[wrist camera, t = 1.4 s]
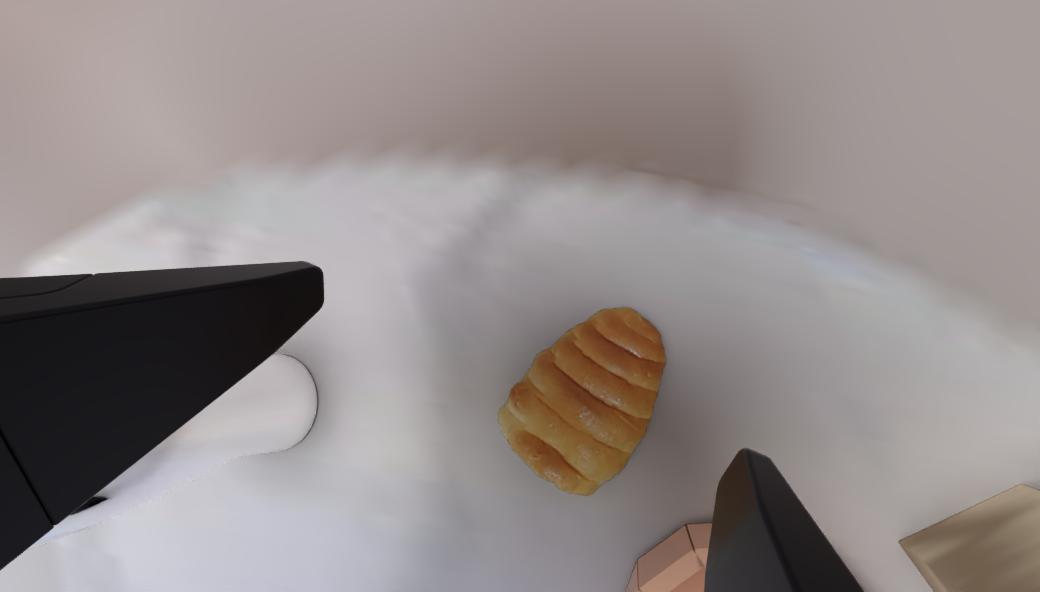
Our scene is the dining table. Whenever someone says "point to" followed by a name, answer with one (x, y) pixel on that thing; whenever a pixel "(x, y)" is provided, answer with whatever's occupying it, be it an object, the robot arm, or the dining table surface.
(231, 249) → the dining table surface
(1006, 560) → the lidded square box
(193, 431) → the beer glass
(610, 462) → the pastry
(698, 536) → the terracotta bowl
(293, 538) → the dining table surface
